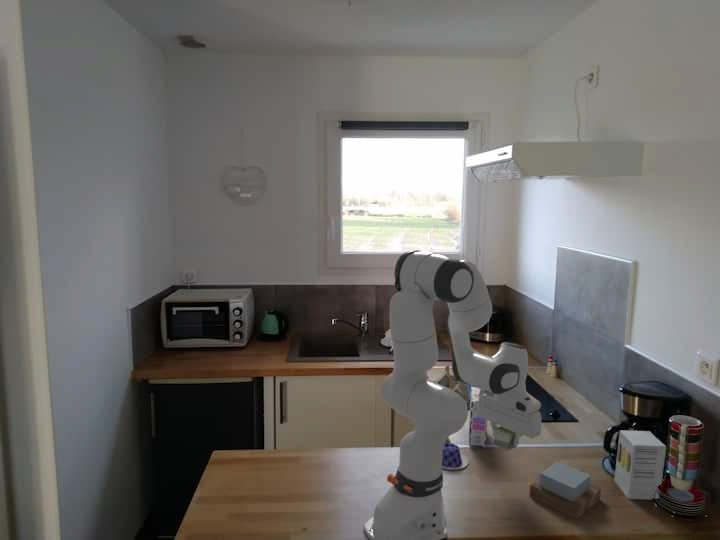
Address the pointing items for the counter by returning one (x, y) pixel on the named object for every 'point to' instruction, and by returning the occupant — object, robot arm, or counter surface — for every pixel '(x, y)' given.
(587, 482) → the grey slab
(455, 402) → the robot arm
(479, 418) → the candy box
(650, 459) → the supplement box
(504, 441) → the sage block
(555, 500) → the walnut slab
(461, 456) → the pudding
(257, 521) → the counter surface
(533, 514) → the counter surface
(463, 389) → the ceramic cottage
